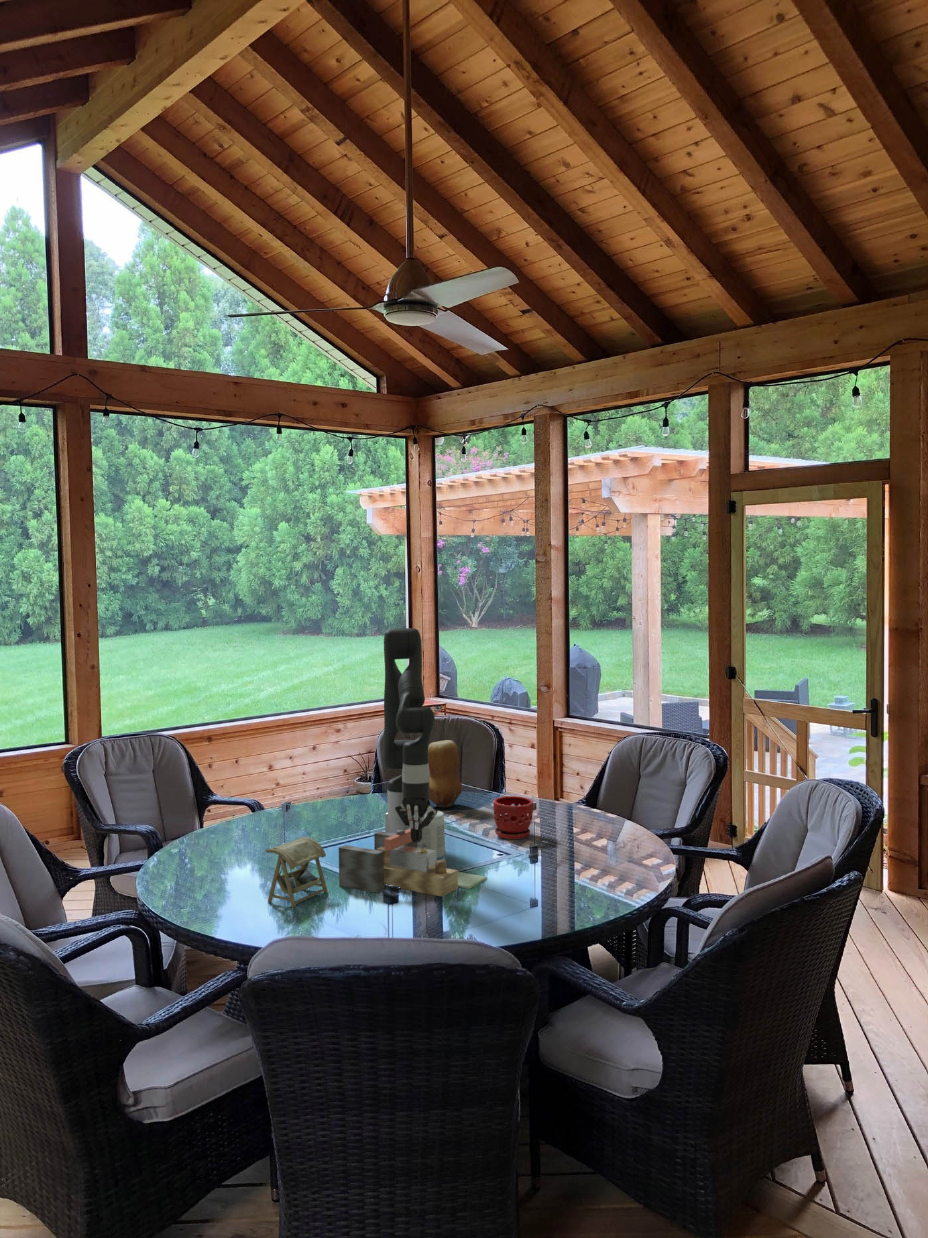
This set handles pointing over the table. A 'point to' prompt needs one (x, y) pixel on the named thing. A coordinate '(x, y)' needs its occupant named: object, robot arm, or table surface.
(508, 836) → the plant pot
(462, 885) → the mat
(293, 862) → the swing bench
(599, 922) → the table surface
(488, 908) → the table surface
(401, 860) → the block with brass knob
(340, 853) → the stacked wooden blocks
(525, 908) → the table surface
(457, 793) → the butternut squash
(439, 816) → the supplement tub
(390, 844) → the latch bar
